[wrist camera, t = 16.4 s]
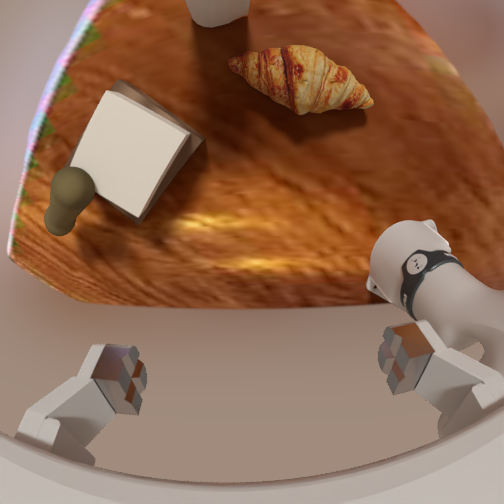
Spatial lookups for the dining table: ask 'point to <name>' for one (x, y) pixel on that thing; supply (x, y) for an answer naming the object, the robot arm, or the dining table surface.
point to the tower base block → (178, 162)
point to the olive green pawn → (68, 199)
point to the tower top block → (128, 151)
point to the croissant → (301, 79)
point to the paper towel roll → (216, 11)
